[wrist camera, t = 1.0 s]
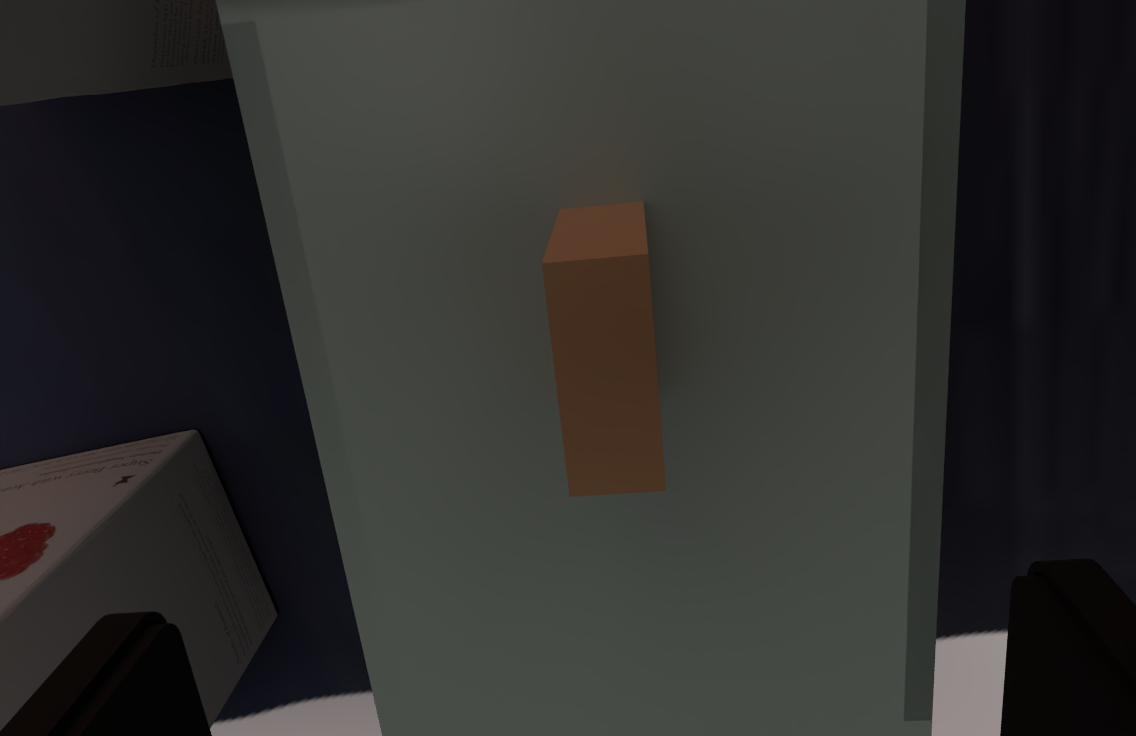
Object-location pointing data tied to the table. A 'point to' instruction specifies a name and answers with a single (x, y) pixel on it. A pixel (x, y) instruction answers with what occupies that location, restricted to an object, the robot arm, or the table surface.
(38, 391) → the table surface
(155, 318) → the table surface
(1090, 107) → the table surface
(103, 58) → the skincare box
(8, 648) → the supplement box
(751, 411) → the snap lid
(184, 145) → the table surface
